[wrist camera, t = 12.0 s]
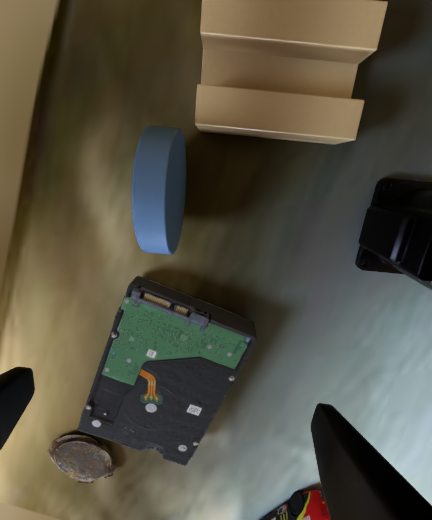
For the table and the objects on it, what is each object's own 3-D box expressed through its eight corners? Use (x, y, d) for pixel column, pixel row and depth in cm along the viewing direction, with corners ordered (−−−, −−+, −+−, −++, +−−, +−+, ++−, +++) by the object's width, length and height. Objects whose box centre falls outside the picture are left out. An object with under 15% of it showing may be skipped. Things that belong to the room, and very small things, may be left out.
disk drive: (192, 438, 27) (256, 318, 22) (188, 468, 24) (260, 338, 20) (90, 405, 26) (134, 271, 21) (75, 432, 23) (121, 287, 19)
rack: (380, -65, 15) (417, -121, 12) (335, 144, 18) (355, 140, 15) (213, -81, 15) (210, -141, 12) (199, 131, 18) (194, 124, 15)
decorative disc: (91, 422, 26) (86, 432, 25) (127, 464, 28) (124, 474, 27) (38, 444, 27) (32, 453, 26) (76, 482, 29) (71, 493, 28)
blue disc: (183, 240, 20) (162, 270, 13) (161, 238, 20) (130, 267, 13) (189, 138, 18) (169, 114, 11) (165, 136, 18) (131, 111, 11)
